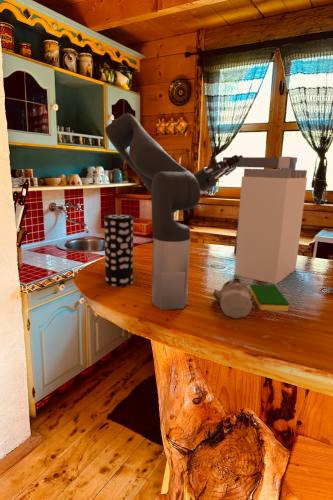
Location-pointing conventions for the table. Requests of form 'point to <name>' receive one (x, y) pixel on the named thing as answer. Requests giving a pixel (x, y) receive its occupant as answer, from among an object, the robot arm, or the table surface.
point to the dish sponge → (269, 297)
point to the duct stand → (270, 223)
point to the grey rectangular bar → (263, 162)
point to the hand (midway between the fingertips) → (240, 157)
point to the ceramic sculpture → (234, 299)
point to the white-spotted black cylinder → (118, 250)
